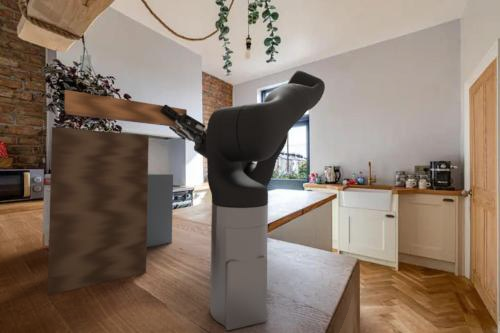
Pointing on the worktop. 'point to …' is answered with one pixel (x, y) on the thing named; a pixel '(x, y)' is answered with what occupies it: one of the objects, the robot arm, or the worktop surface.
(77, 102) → the brown bar
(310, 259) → the worktop surface
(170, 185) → the slate pedestal
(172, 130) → the robot arm
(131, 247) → the walnut pedestal
